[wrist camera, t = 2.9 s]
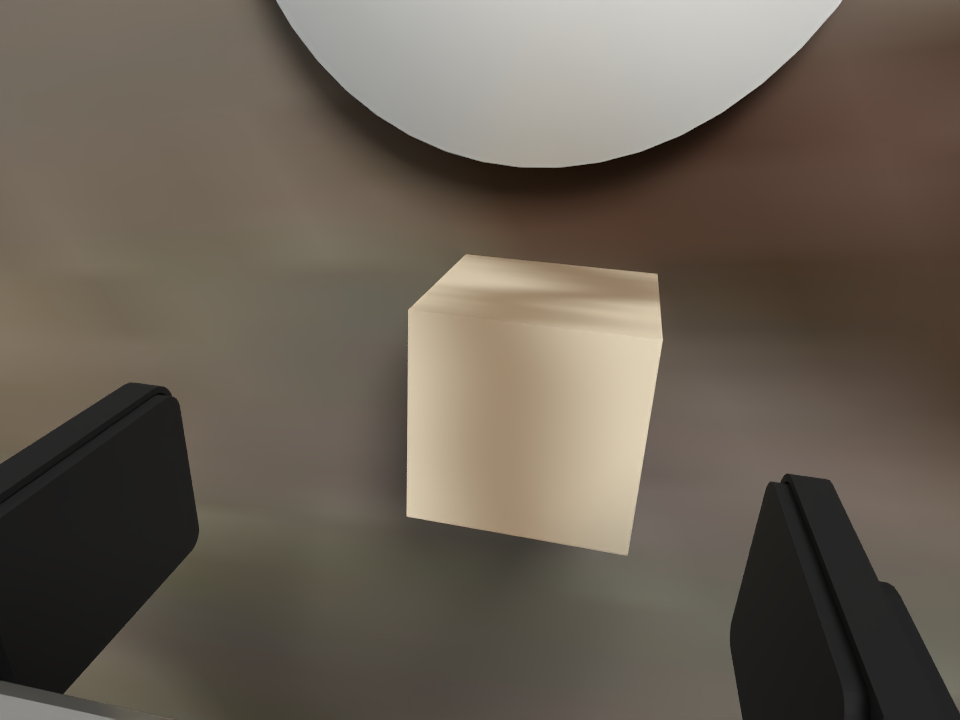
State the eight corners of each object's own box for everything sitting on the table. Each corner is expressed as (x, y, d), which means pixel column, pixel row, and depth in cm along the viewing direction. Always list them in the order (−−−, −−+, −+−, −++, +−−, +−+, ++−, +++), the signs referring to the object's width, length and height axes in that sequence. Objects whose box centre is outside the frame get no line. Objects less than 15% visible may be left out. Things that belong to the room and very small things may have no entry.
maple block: (657, 273, 17) (662, 340, 13) (630, 444, 19) (627, 555, 15) (466, 253, 18) (408, 309, 14) (459, 419, 20) (406, 516, 16)
